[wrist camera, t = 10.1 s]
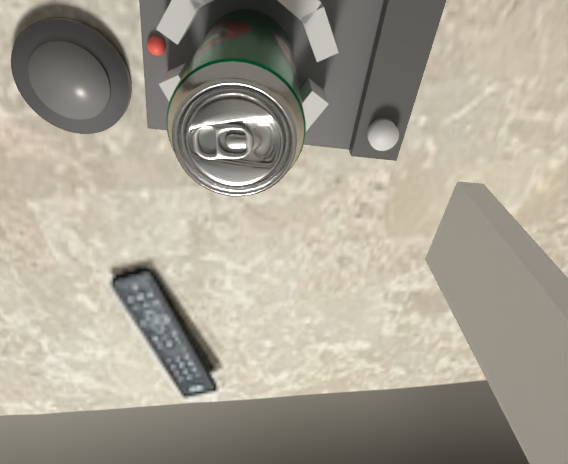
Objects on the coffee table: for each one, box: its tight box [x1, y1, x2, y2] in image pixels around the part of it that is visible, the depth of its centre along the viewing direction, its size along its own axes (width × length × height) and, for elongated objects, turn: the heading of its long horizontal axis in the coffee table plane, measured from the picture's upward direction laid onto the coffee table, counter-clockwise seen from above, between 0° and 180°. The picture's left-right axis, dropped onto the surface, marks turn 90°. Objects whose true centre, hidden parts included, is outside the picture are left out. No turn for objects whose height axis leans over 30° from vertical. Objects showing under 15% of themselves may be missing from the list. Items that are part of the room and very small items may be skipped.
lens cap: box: [11, 18, 132, 134], centre depth 29 cm, size 8×8×1 cm
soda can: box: [166, 9, 306, 196], centre depth 19 cm, size 5×5×12 cm
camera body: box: [139, 0, 446, 161], centre depth 25 cm, size 16×10×8 cm, turn 83°
